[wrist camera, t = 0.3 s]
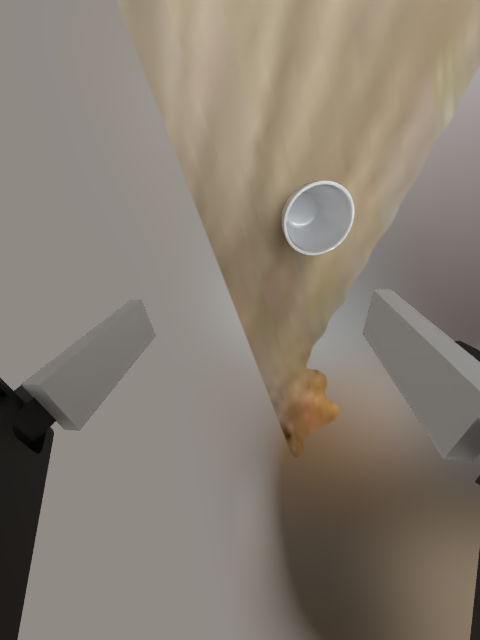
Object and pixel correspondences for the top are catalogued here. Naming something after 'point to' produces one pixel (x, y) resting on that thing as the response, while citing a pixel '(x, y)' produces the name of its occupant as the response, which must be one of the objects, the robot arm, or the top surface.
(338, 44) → the top surface
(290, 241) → the drinking glass
